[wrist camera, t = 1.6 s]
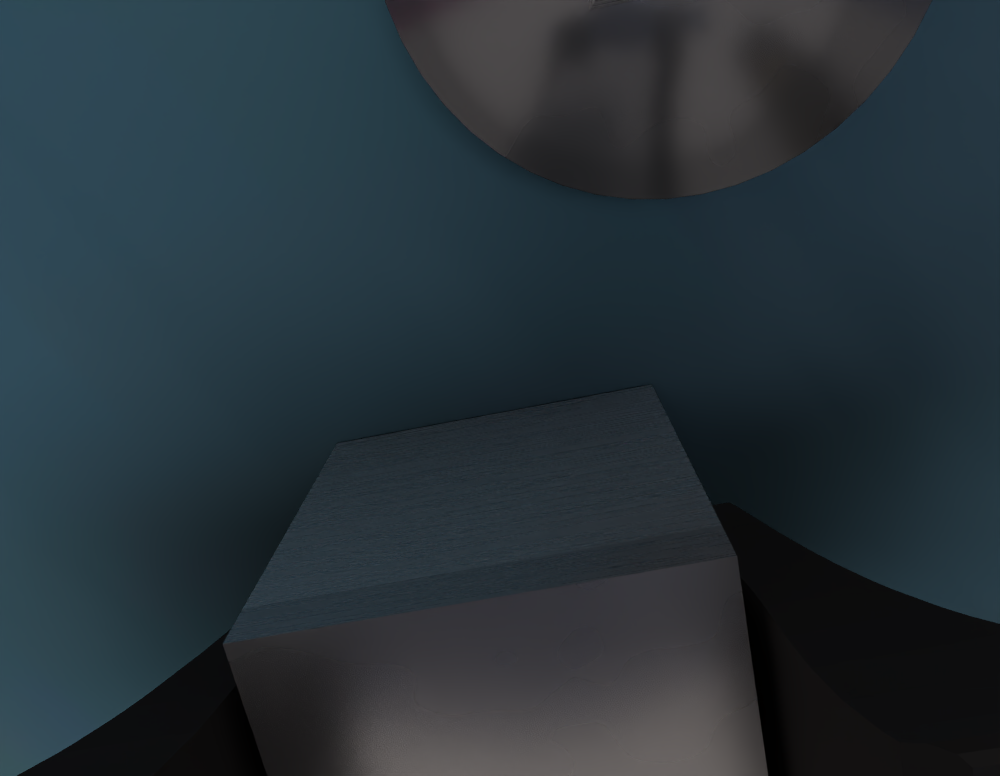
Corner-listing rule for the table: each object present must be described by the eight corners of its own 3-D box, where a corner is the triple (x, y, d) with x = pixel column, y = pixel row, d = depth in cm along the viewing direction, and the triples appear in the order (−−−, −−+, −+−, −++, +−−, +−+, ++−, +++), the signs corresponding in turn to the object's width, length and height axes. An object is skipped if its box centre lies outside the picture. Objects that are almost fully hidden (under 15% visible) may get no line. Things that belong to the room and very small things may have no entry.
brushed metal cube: (651, 384, 12) (736, 555, 7) (697, 662, 14) (794, 962, 9) (336, 443, 13) (221, 645, 8) (409, 708, 14) (350, 1021, 9)
